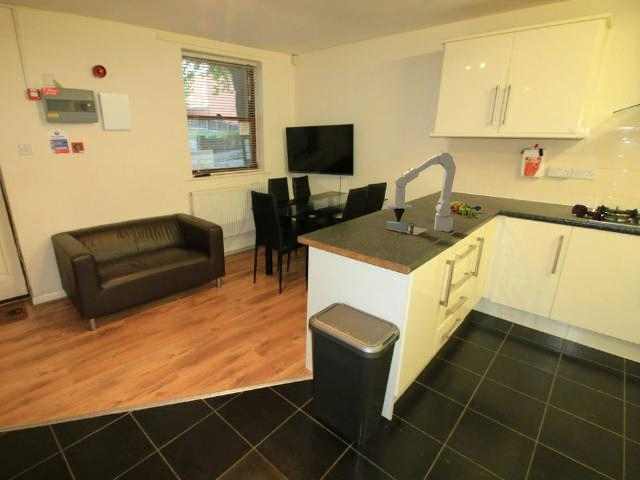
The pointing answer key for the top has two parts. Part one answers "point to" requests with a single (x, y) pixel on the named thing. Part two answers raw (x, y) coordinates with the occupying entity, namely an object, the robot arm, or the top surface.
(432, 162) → the robot arm
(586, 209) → the figurine
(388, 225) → the swing arm
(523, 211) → the top surface
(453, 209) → the toy
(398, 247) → the top surface
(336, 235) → the top surface
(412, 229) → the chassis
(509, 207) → the top surface
